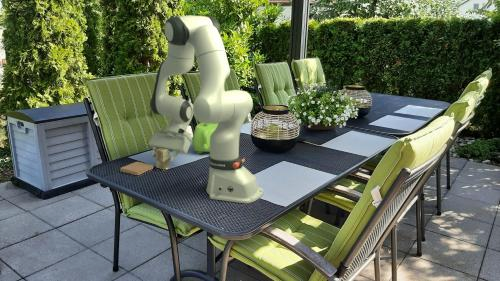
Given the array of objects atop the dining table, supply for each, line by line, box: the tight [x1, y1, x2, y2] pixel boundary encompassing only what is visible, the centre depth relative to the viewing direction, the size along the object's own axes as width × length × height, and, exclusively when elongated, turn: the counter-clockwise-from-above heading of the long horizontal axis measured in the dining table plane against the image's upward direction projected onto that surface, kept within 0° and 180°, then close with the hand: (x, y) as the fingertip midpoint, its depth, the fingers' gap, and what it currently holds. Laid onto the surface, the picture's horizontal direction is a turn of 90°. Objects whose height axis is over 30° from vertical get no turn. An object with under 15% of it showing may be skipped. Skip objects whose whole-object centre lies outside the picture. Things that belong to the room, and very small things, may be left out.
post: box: [156, 148, 170, 171], centre depth 169 cm, size 4×4×9 cm
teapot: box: [191, 122, 218, 154], centre depth 196 cm, size 25×22×16 cm
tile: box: [120, 161, 155, 176], centre depth 167 cm, size 10×10×2 cm
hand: (161, 158), depth 169 cm, fingers open, 8 cm apart
